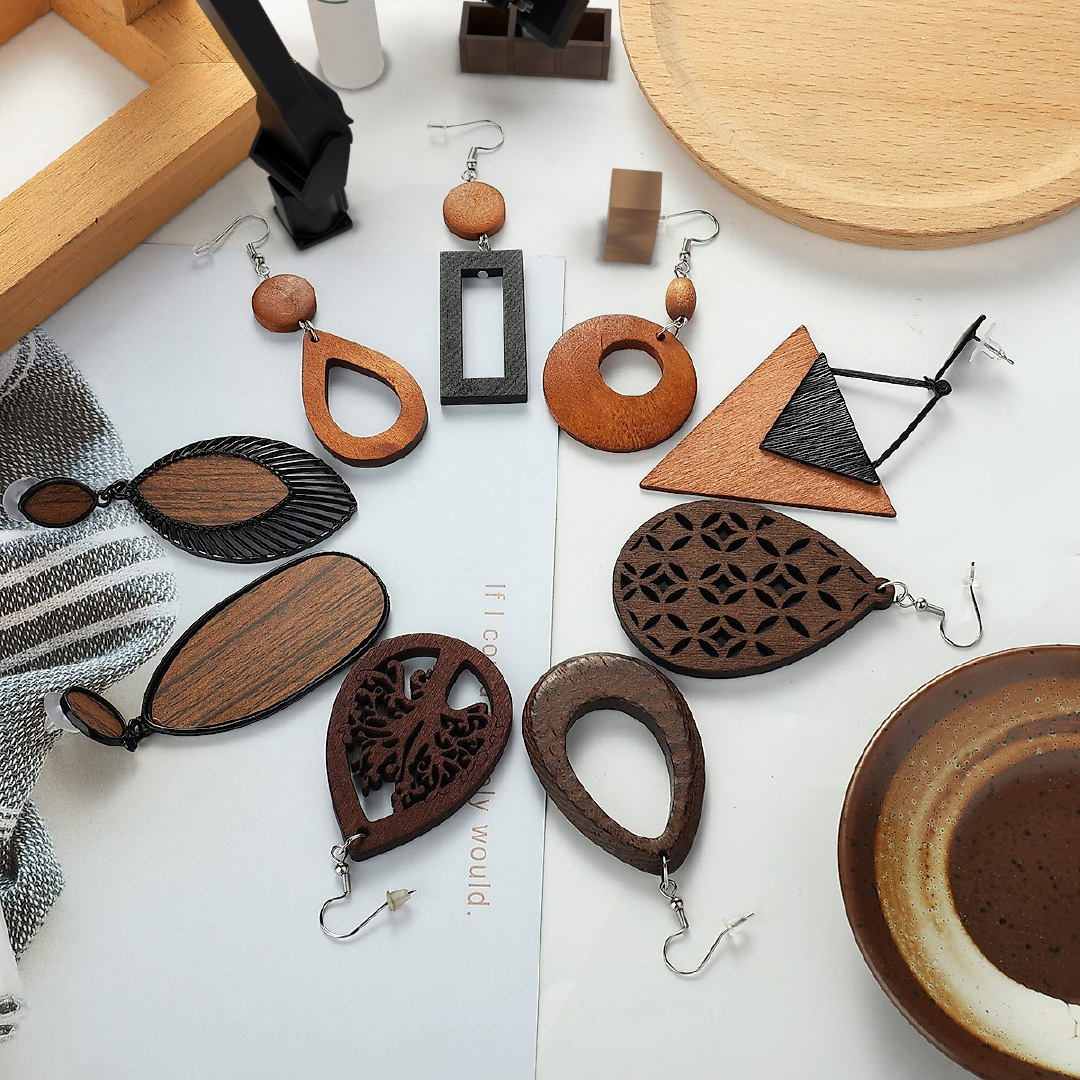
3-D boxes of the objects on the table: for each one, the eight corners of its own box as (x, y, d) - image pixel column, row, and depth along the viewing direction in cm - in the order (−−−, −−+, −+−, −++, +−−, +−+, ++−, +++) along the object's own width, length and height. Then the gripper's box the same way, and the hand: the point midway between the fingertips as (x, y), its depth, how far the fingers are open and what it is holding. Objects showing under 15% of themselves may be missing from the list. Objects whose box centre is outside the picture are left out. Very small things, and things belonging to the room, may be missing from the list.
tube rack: (460, 72, 113) (458, 38, 109) (465, 35, 115) (463, 0, 111) (607, 80, 113) (610, 46, 108) (608, 42, 115) (611, 8, 111)
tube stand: (603, 261, 102) (609, 206, 95) (606, 223, 104) (612, 167, 97) (651, 264, 102) (660, 210, 95) (652, 227, 104) (662, 171, 97)
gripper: (582, -86, 89) (647, -30, 103) (441, -176, 94) (520, -112, 107) (522, 33, 94) (591, 71, 107) (390, -59, 99) (473, -11, 112)
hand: (544, 2), depth 108 cm, fingers closed on test tube, 3 cm apart
